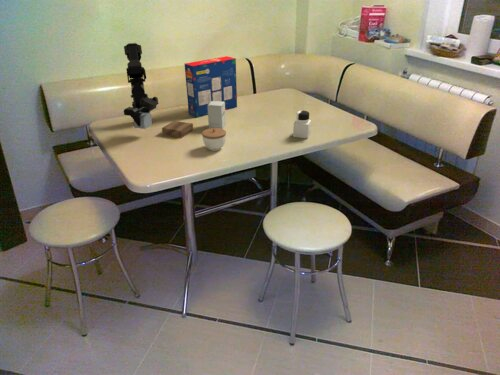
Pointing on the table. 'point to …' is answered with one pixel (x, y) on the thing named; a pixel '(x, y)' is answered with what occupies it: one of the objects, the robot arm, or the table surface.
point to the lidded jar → (214, 138)
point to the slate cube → (144, 120)
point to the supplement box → (216, 114)
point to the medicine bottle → (302, 125)
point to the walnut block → (177, 129)
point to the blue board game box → (210, 84)
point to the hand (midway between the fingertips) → (143, 124)
